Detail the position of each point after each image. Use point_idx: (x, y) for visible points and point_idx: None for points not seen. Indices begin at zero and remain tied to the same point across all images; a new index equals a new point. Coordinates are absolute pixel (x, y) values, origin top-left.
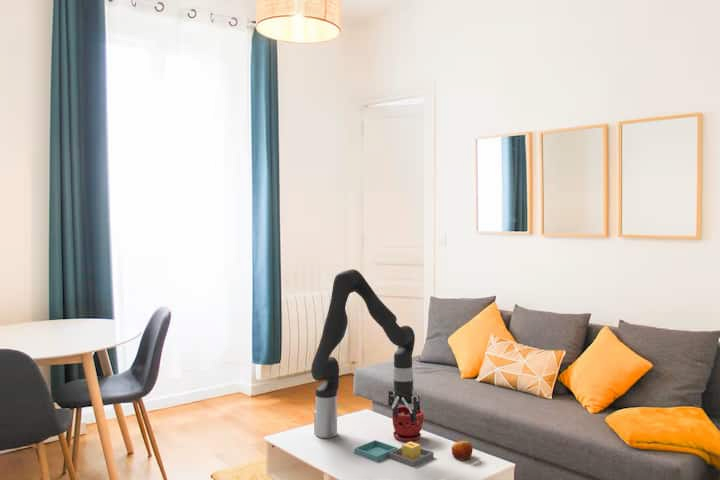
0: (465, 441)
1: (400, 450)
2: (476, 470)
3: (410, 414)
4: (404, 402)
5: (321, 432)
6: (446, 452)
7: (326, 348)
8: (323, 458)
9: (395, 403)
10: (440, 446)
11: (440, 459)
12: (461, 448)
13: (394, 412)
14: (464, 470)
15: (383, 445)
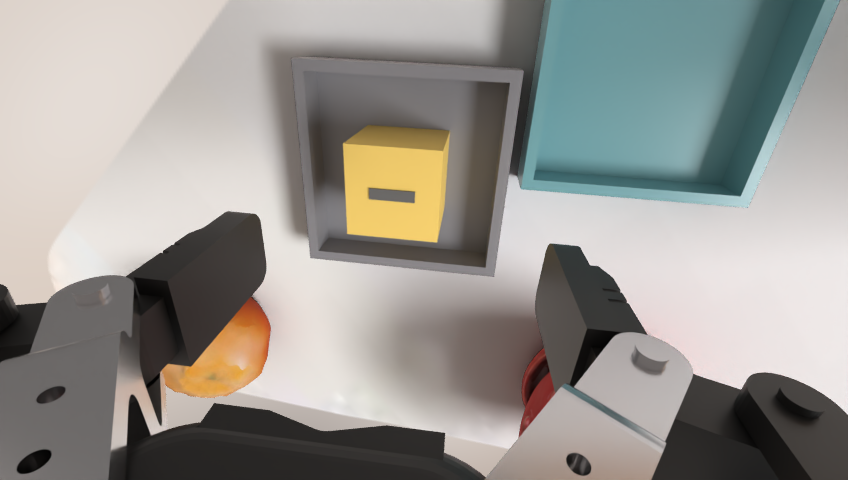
0: (172, 381)
1: (495, 181)
2: (101, 242)
3: (162, 267)
4: (87, 474)
5: None
6: (330, 332)
7: None
8: None
9: (559, 421)
10: (396, 372)
11: (291, 251)
12: None
13: (571, 288)
14: (127, 209)
15: (648, 184)
